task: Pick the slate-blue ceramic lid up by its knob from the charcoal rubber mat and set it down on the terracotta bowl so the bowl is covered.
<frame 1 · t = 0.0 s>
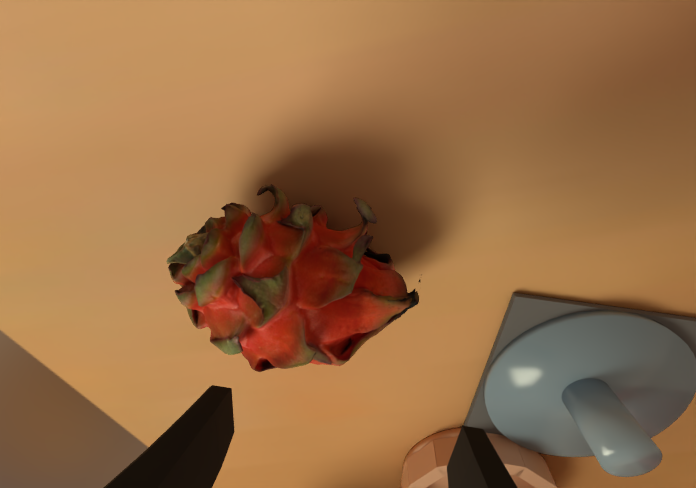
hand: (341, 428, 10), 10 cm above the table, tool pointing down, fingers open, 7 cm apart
bowl: (471, 473, 26), on the table
dragon fruit: (313, 248, 19), on the table
mat: (577, 382, 21), on the table
lid: (602, 419, 19), on the mat
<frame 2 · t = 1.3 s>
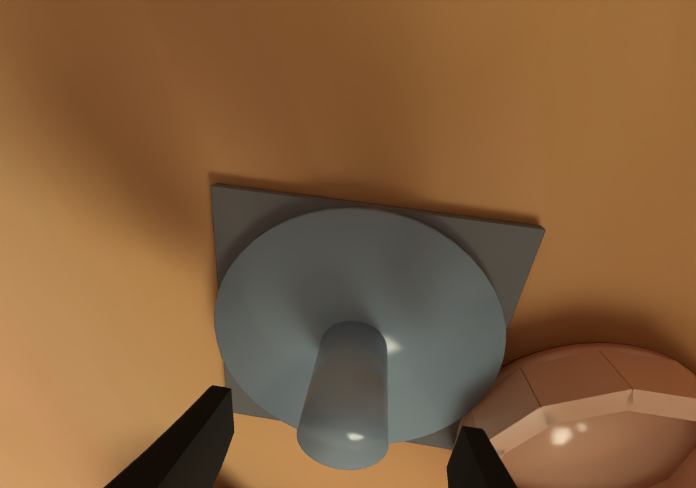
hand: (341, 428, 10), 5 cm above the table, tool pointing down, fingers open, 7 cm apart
bowl: (573, 433, 15), on the table
mat: (355, 333, 14), on the table
lid: (349, 380, 12), on the mat
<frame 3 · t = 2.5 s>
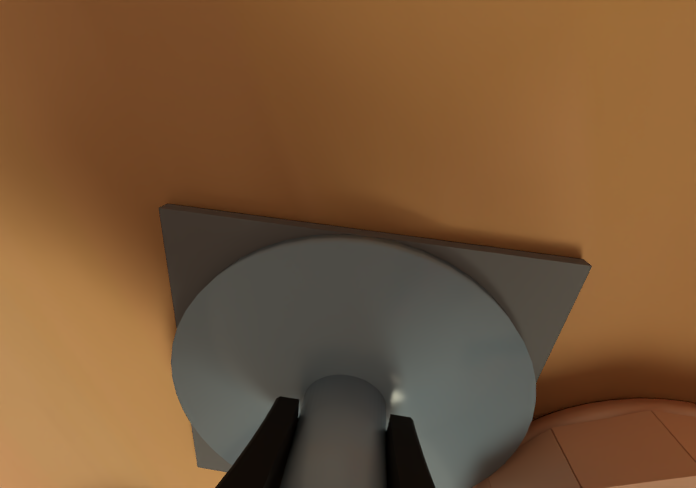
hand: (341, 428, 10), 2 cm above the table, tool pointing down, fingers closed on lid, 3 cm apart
mat: (347, 382, 12), on the table
lid: (337, 457, 9), on the mat, touching gripper
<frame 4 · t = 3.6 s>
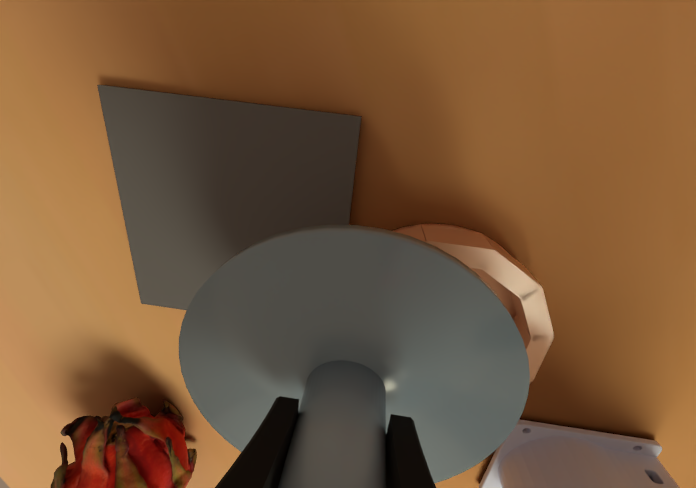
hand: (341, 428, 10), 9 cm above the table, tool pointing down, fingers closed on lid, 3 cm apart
bowl: (426, 313, 18), on the table
dragon fruit: (159, 421, 25), on the table
mat: (236, 222, 17), on the table
lid: (339, 437, 10), point 9 cm above the table, touching gripper
when the fingers open (5 cm above the table, at t = 4.9 s): lid stays where it is, resting on bowl.
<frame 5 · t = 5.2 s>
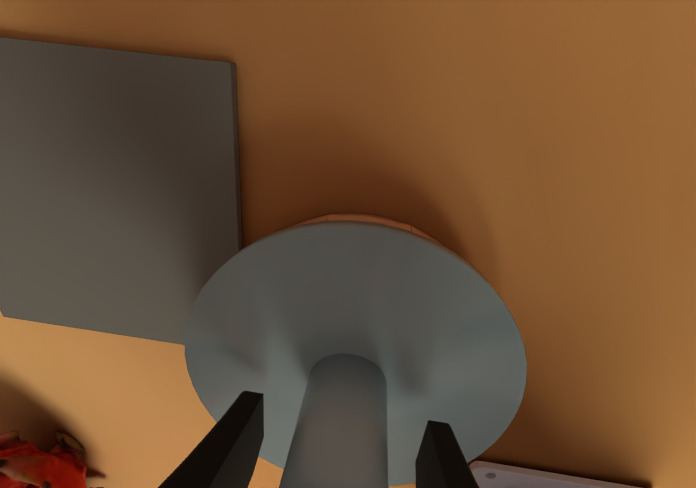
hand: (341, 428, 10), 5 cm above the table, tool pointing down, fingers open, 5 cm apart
bowl: (354, 330, 14), on the table
dragon fruit: (62, 454, 21), on the table
mat: (100, 213, 13), on the table
lid: (341, 428, 10), on the bowl, point 5 cm above the table
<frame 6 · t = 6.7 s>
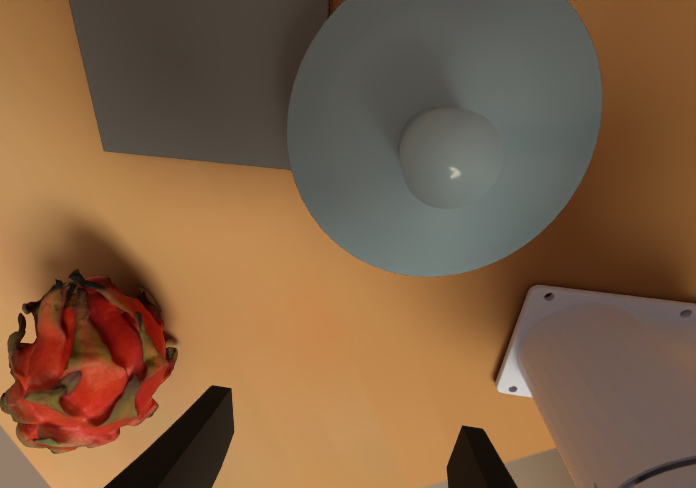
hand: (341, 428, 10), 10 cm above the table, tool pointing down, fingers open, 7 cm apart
dragon fruit: (138, 320, 23), on the table
mat: (200, 28, 15), on the table
lid: (439, 151, 11), on the bowl, point 5 cm above the table
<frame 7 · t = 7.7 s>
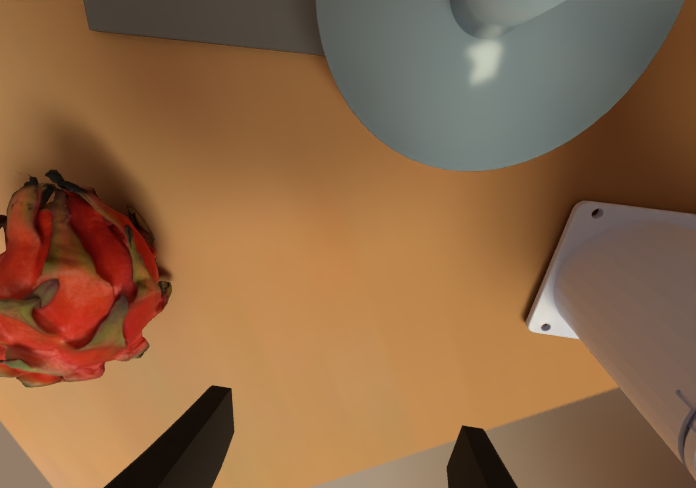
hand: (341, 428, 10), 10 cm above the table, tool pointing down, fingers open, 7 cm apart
dragon fruit: (127, 252, 20), on the table
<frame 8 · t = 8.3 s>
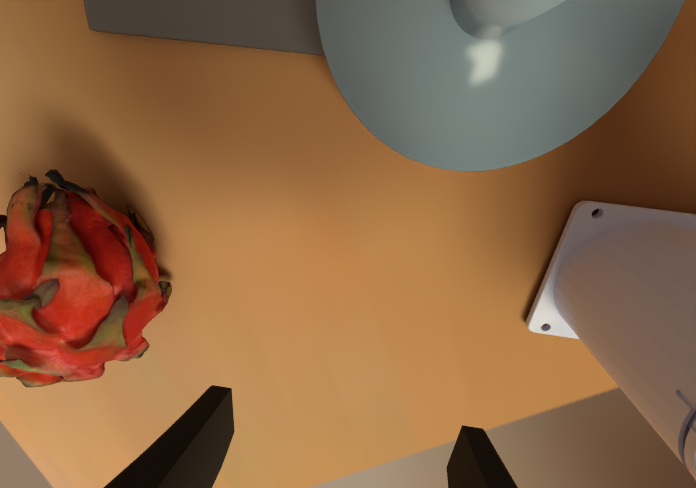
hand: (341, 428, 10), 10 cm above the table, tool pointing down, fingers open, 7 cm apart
dragon fruit: (127, 252, 20), on the table
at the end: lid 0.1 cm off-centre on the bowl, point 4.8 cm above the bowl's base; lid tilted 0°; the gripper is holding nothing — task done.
